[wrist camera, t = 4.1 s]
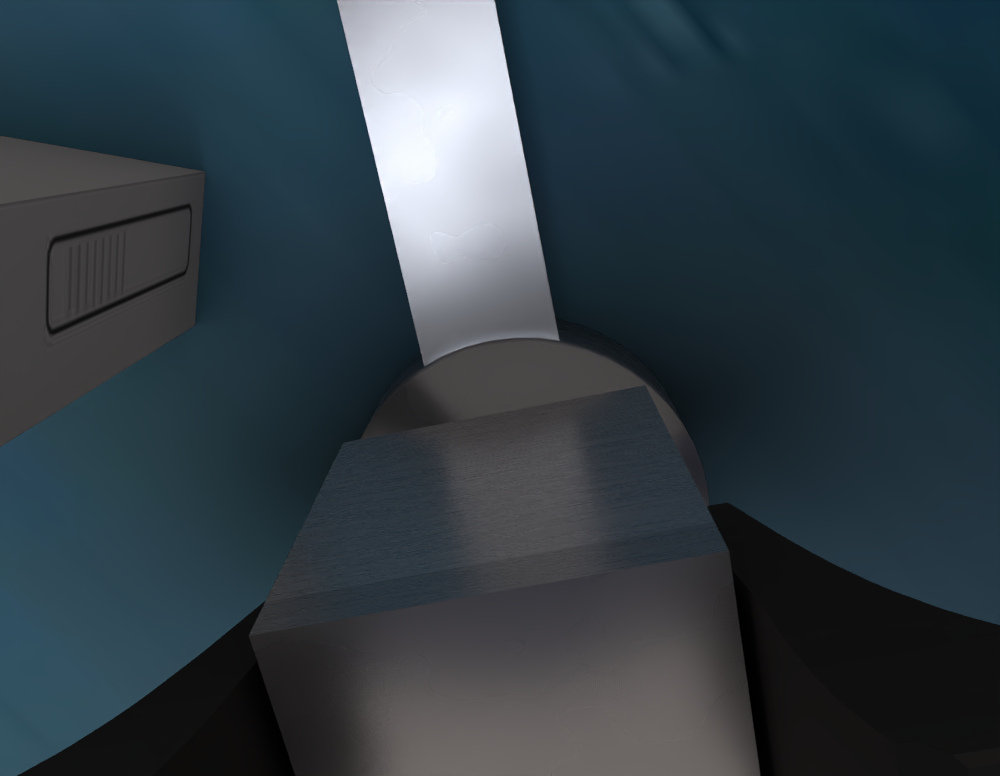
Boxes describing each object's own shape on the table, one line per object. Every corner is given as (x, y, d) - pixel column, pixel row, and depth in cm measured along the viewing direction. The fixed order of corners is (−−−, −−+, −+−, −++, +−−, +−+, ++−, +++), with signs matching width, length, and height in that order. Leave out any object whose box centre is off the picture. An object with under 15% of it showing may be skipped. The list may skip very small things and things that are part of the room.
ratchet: (708, 588, 17) (765, 734, 13) (406, 638, 17) (370, 794, 13) (498, -772, 11) (483, -1267, 7) (61, -640, 12) (-179, -1031, 8)
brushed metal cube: (645, 385, 13) (729, 549, 8) (687, 648, 14) (782, 927, 9) (342, 442, 13) (248, 635, 8) (413, 695, 15) (366, 989, 10)
